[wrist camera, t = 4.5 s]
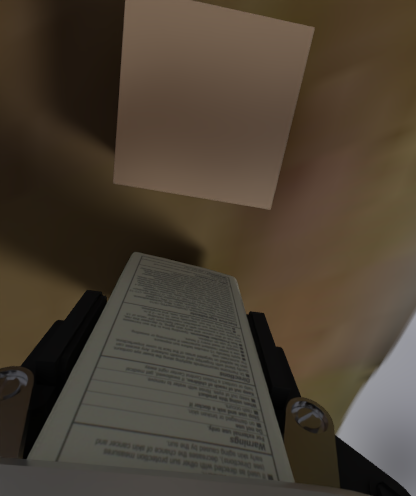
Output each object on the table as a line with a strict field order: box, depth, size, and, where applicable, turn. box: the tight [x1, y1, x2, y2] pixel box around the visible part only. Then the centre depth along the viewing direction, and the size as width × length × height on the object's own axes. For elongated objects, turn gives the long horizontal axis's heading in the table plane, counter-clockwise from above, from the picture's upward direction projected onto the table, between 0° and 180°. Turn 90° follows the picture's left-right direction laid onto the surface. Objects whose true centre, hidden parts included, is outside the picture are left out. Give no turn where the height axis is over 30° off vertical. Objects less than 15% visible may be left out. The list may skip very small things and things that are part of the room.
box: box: [27, 252, 295, 483], centre depth 9 cm, size 5×4×11 cm
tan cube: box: [113, 0, 315, 209], centre depth 11 cm, size 5×5×5 cm
